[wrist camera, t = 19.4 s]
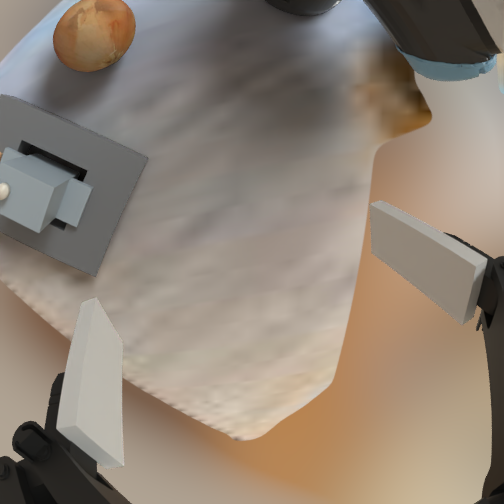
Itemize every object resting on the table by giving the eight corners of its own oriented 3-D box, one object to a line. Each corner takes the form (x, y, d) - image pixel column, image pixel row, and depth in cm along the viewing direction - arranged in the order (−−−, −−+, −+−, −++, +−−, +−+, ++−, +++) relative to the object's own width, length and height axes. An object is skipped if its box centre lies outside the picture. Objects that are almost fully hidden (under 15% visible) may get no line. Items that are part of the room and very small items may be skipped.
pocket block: (148, 157, 37) (146, 160, 33) (100, 264, 40) (95, 279, 36) (13, 96, 28) (-1, 93, 24) (-24, 204, 31) (-39, 212, 27)
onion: (99, 93, 32) (81, 81, 23) (51, 52, 28) (24, 32, 19) (153, 38, 31) (153, 11, 22) (104, -1, 27) (93, -33, 18)
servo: (99, 182, 36) (77, 201, 26) (85, 216, 37) (60, 248, 26) (21, 145, 31) (-23, 152, 20) (8, 179, 32) (-36, 199, 21)
